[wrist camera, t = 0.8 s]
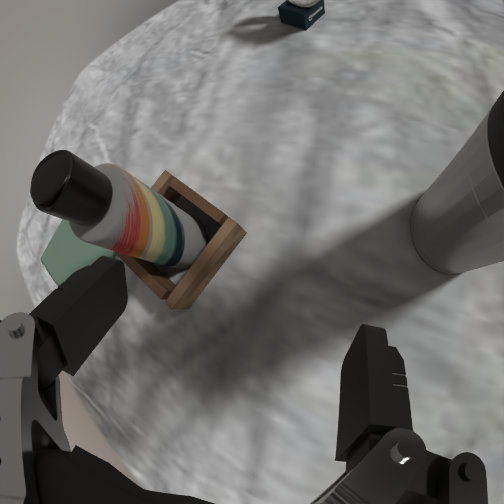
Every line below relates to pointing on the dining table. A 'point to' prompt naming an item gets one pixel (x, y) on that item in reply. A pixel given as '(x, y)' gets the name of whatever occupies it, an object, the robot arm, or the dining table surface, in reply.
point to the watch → (301, 12)
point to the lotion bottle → (116, 211)
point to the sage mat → (70, 253)
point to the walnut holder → (205, 262)
